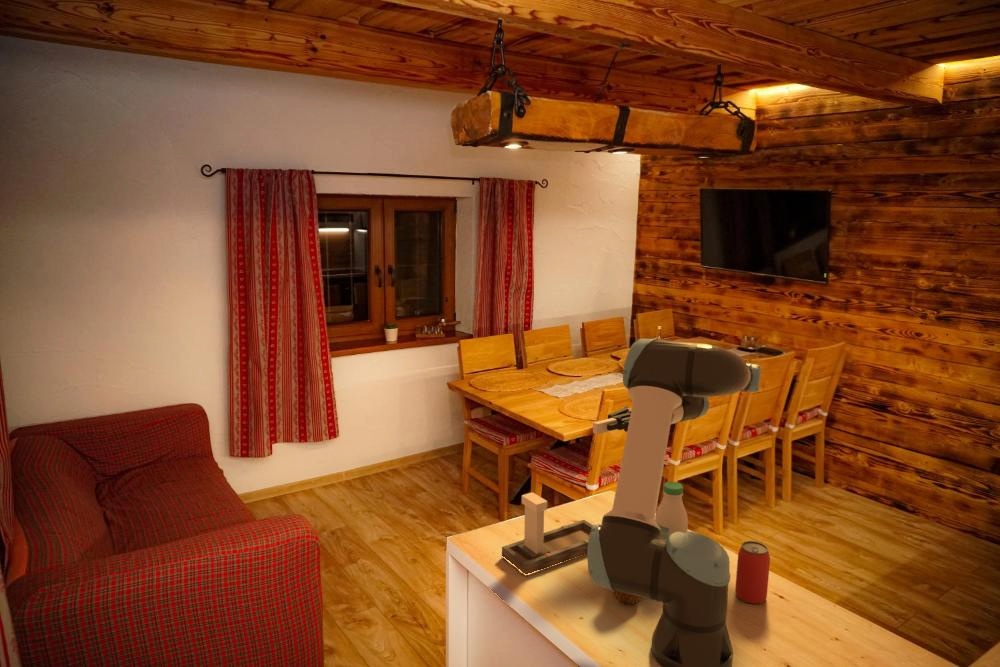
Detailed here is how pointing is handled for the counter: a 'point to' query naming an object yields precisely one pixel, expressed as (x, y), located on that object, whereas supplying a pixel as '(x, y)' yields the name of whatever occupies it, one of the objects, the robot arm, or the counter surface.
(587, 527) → the fader rail
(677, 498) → the milk bottle
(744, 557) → the beer can
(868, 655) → the counter surface
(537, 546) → the fader knob
